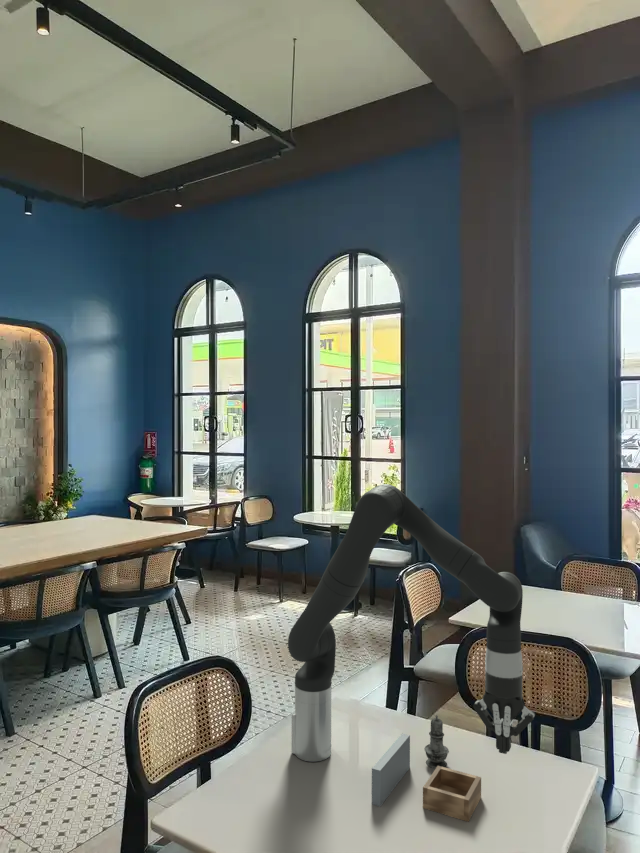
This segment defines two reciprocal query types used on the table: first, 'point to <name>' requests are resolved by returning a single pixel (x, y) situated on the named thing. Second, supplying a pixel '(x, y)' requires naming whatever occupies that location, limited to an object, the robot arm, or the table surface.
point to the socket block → (452, 793)
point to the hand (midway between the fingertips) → (503, 751)
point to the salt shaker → (436, 745)
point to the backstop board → (390, 769)
